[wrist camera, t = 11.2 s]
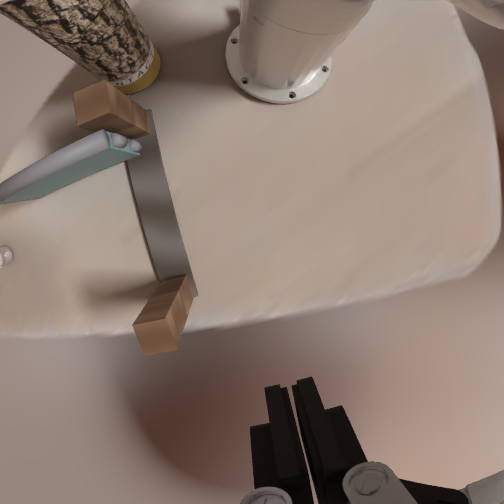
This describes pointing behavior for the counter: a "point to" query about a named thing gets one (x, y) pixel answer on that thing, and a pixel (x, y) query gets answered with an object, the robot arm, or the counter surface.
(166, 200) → the gate frame
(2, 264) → the lightbulb
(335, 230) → the counter surface
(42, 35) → the wooden log
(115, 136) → the gate
